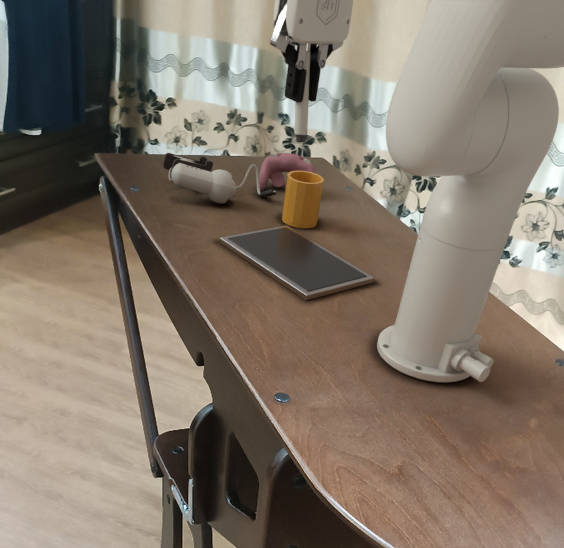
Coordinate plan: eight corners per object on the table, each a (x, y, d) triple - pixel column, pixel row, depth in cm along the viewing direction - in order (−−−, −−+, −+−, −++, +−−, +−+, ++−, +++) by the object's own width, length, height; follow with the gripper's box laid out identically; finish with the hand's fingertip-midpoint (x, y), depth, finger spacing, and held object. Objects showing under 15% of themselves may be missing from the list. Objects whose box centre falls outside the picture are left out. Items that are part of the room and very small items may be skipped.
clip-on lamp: (257, 202, 129) (159, 174, 121) (267, 166, 125) (168, 134, 118) (273, 222, 120) (169, 192, 113) (285, 183, 116) (178, 150, 109)
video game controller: (312, 202, 128) (318, 160, 126) (312, 198, 124) (319, 155, 122) (257, 193, 128) (263, 151, 126) (256, 188, 124) (262, 145, 122)
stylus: (309, 142, 101) (313, 51, 95) (300, 143, 100) (303, 51, 94) (301, 140, 102) (304, 50, 96) (291, 141, 101) (294, 50, 95)
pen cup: (324, 225, 117) (331, 181, 112) (296, 230, 114) (303, 185, 109) (301, 212, 120) (307, 168, 115) (274, 217, 117) (279, 172, 112)
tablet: (373, 282, 103) (374, 276, 102) (305, 300, 96) (306, 294, 95) (286, 230, 113) (286, 224, 113) (219, 242, 106) (219, 236, 106)
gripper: (293, -69, 80) (273, 110, 93) (388, -59, 89) (358, 104, 101) (252, -80, 84) (238, 94, 96) (347, -70, 93) (323, 89, 105)
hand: (300, 98), depth 99 cm, fingers closed on stylus, 1 cm apart
